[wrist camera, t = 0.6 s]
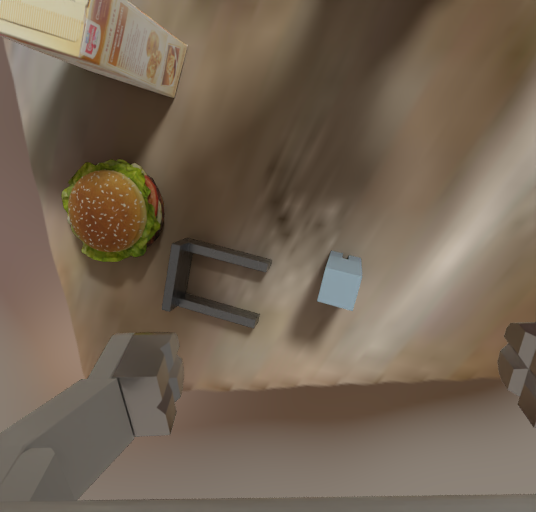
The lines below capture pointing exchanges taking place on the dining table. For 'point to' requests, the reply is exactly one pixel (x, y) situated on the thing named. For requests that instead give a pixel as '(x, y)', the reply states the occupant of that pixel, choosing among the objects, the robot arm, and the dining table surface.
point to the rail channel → (179, 297)
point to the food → (113, 210)
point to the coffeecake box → (98, 39)
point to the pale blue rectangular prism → (341, 281)
